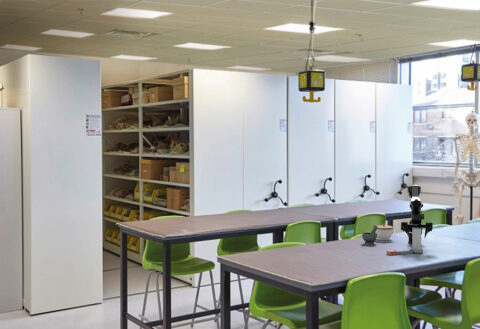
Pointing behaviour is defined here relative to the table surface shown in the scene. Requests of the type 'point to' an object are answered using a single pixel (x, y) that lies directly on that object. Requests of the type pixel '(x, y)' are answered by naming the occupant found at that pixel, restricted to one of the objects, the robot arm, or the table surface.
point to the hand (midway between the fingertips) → (417, 237)
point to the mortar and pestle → (370, 236)
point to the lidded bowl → (384, 232)
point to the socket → (416, 238)
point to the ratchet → (404, 252)
